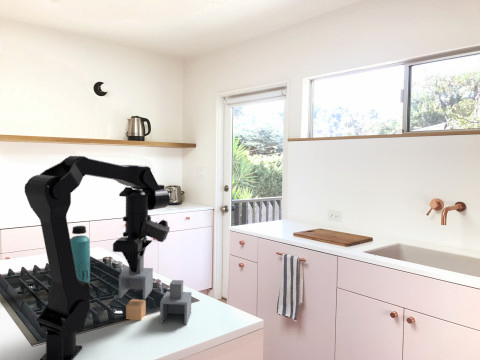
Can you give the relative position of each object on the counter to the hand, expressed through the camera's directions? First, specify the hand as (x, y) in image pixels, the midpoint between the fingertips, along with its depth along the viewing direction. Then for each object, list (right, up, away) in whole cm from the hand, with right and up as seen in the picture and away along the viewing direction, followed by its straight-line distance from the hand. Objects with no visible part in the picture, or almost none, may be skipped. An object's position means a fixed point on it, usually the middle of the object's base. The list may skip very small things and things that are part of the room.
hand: (136, 269), depth 98 cm
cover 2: (+11, -13, +1) cm, 17 cm away
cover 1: (0, -7, 0) cm, 6 cm away
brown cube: (0, -13, +1) cm, 13 cm away
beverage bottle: (-25, -11, +22) cm, 35 cm away
